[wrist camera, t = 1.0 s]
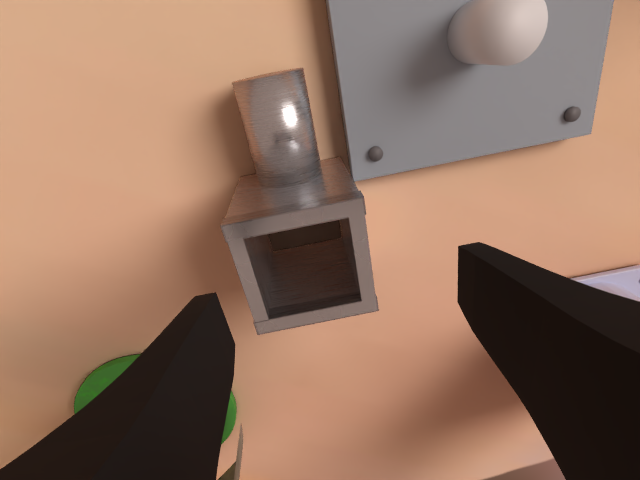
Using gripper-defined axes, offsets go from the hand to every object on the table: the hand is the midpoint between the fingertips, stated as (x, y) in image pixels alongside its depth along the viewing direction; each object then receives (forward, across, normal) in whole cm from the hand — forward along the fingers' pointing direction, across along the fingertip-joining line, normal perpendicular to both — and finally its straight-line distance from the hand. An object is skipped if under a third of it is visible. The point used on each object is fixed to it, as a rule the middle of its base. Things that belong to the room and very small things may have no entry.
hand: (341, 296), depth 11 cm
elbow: (+10, +1, -1) cm, 10 cm away
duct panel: (+10, -8, -6) cm, 14 cm away
